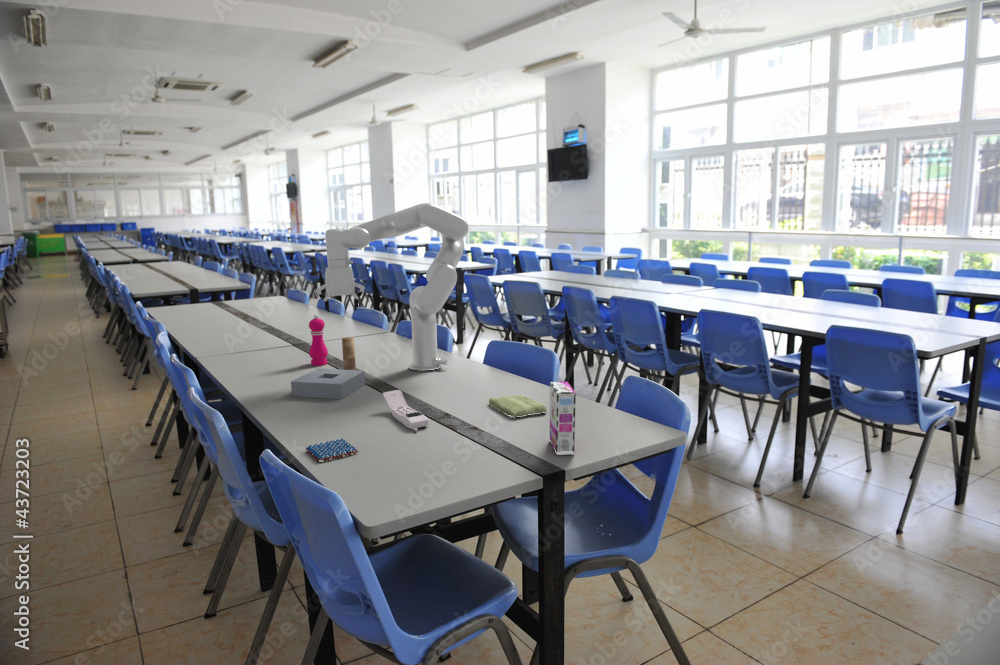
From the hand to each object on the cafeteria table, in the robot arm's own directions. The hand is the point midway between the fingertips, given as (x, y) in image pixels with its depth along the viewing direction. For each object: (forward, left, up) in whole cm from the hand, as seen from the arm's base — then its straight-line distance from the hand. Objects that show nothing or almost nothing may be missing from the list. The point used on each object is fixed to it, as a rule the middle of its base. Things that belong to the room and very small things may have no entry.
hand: (342, 310), depth 238 cm
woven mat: (-31, +72, -25) cm, 82 cm away
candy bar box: (-88, +57, -25) cm, 108 cm away
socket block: (-3, +19, -25) cm, 31 cm away
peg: (-1, -1, -25) cm, 25 cm away
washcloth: (-70, +27, -25) cm, 79 cm away
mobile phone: (-40, +42, -25) cm, 63 cm away
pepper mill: (+19, -15, -25) cm, 35 cm away
